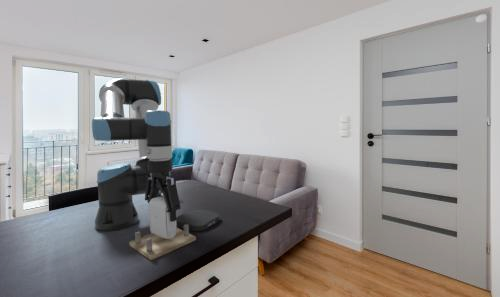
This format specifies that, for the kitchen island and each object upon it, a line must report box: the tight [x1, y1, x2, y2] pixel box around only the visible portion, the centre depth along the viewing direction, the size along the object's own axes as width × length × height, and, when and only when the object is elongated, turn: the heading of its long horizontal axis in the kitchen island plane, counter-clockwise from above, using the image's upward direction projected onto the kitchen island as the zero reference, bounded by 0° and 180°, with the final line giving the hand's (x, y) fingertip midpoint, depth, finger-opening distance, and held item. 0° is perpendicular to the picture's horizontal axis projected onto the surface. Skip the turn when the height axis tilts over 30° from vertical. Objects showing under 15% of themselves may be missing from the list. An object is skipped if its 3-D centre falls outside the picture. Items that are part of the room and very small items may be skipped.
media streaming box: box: [176, 209, 220, 232], centre depth 97 cm, size 15×15×3 cm
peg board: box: [128, 220, 197, 261], centre depth 80 cm, size 14×16×5 cm
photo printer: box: [148, 196, 176, 239], centre depth 79 cm, size 10×4×12 cm, turn 54°
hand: (162, 225), depth 80 cm, fingers closed on photo printer, 10 cm apart
